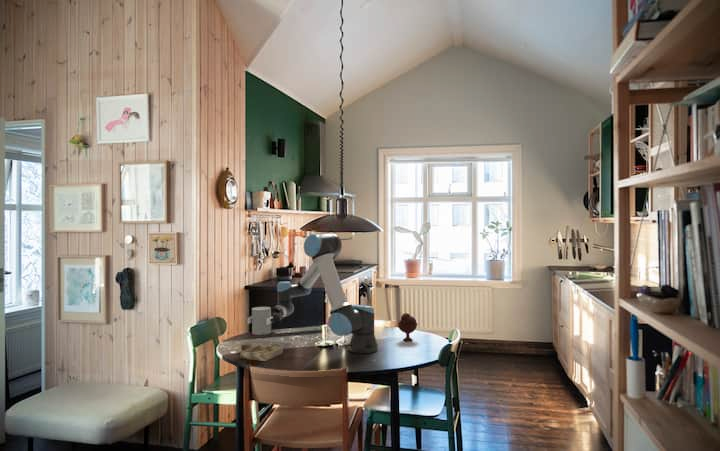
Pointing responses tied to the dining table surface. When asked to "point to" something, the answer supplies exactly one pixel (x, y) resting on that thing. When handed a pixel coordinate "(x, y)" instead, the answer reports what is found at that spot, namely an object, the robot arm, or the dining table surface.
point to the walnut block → (245, 346)
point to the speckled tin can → (261, 320)
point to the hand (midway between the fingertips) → (257, 321)
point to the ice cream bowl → (407, 325)
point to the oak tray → (261, 352)
